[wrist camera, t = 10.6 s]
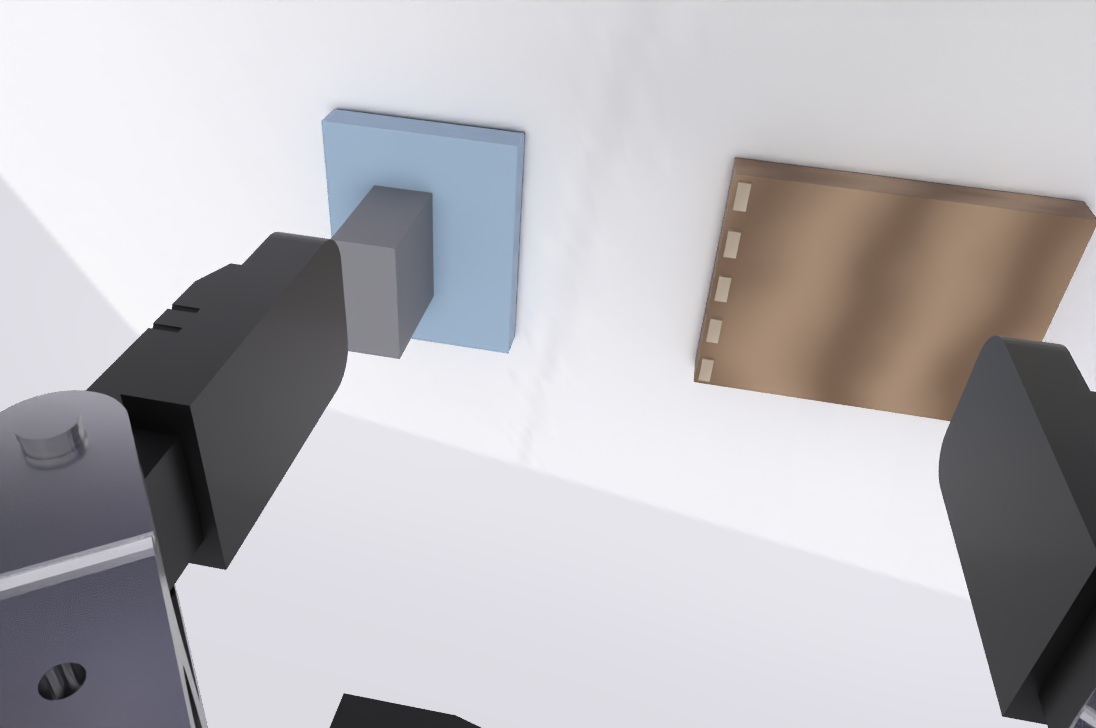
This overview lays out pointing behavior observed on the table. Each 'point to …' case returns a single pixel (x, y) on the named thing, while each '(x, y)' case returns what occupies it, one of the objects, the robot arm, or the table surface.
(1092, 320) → the table surface
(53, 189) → the table surface
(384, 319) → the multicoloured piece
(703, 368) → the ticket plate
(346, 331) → the robot arm
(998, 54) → the table surface
